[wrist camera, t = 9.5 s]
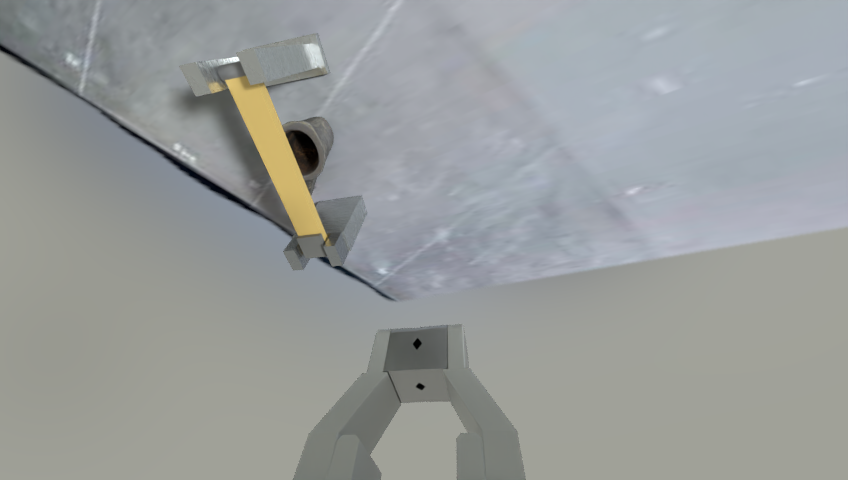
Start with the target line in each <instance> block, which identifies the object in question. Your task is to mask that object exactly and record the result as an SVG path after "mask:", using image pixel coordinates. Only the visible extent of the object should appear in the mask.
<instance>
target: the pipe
mask: <svg viewBox="0 0 848 480" xmlns="http://www.w3.org/2000/svg"><path fill="white" fill-rule="evenodd" d="M282 127H283V130H284V132H285V135H286V137H287V140H288V142H289V144H290V147H291V149H292V152H293V154H294V157H295V159H296V161H297V164H298V166H299V169H300V171H301V174H302V176H303V179H304V181H305V183H306V186H307V188H308V191H309V193H310V196H311V195H312V192H313V189H314V186H315V182H316V179H317V176H319V175H320V173H321V172H322V170H323V168H324V165H325V161H326V158H327V156H328V154H329V151H330V150H331V147H332V144H333V132H332V129H331V127H330V126H329V124H328V122H327V121H326V120H325V119H324V118H322V117H313V118H310V119H307V120H305V121H296V122H288V123H285V124H284V125H282Z"/></svg>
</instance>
